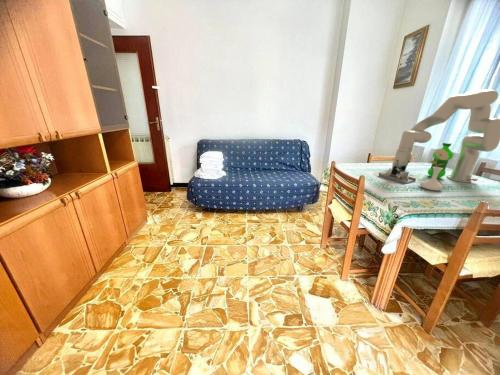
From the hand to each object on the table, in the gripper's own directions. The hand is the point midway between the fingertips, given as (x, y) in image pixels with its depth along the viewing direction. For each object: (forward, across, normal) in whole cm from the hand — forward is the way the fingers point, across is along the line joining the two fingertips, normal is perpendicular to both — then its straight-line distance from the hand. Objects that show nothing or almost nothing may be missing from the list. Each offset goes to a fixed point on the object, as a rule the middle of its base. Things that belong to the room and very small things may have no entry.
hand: (397, 173), depth 146 cm
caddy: (+4, 0, 0) cm, 4 cm away
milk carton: (+4, -21, -11) cm, 24 cm away
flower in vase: (+4, -1, +20) cm, 20 cm away
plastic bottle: (+4, -30, +10) cm, 32 cm away
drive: (+3, 0, 0) cm, 3 cm away
